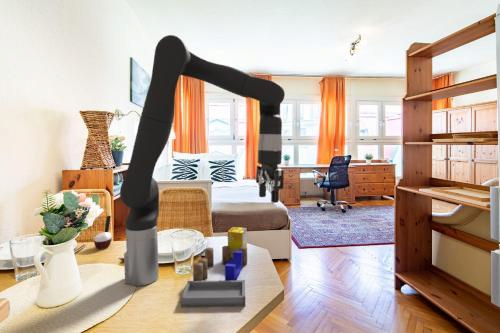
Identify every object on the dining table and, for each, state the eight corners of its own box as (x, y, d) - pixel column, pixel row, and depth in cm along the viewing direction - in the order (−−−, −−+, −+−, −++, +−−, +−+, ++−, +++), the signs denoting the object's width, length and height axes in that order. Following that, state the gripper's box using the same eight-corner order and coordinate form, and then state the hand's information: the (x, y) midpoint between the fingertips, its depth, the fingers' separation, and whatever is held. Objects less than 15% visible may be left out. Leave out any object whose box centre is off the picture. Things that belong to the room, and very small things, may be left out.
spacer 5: (238, 265, 97) (238, 249, 96) (238, 262, 100) (238, 246, 99) (247, 265, 97) (247, 249, 96) (247, 262, 100) (247, 246, 99)
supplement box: (232, 253, 108) (232, 226, 107) (247, 255, 106) (247, 227, 105) (227, 259, 102) (227, 231, 101) (242, 261, 100) (242, 232, 99)
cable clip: (230, 266, 97) (230, 250, 96) (242, 267, 96) (242, 251, 95) (220, 283, 85) (220, 265, 84) (234, 285, 84) (234, 266, 83)
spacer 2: (197, 280, 87) (197, 262, 86) (198, 275, 90) (198, 258, 89) (207, 280, 87) (206, 262, 86) (208, 275, 90) (207, 258, 89)
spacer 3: (204, 267, 96) (204, 250, 95) (205, 263, 98) (205, 247, 98) (213, 267, 96) (212, 250, 95) (213, 263, 99) (213, 247, 98)
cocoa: (98, 253, 108) (96, 224, 107) (88, 250, 111) (86, 221, 109) (119, 244, 117) (117, 217, 115) (109, 241, 120) (108, 215, 118)
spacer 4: (221, 265, 97) (221, 249, 97) (222, 261, 100) (222, 245, 100) (230, 265, 97) (230, 248, 97) (230, 261, 100) (230, 245, 100)
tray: (181, 307, 73) (181, 298, 72) (188, 289, 81) (187, 281, 81) (245, 306, 73) (245, 297, 73) (244, 288, 82) (244, 280, 82)
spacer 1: (192, 285, 84) (192, 266, 83) (194, 280, 86) (194, 262, 86) (202, 285, 84) (202, 266, 83) (203, 280, 87) (203, 262, 86)
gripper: (249, 148, 91) (248, 196, 93) (269, 149, 78) (268, 205, 80) (269, 148, 94) (268, 194, 96) (292, 150, 81) (290, 203, 83)
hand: (268, 199), depth 88 cm, fingers open, 8 cm apart
